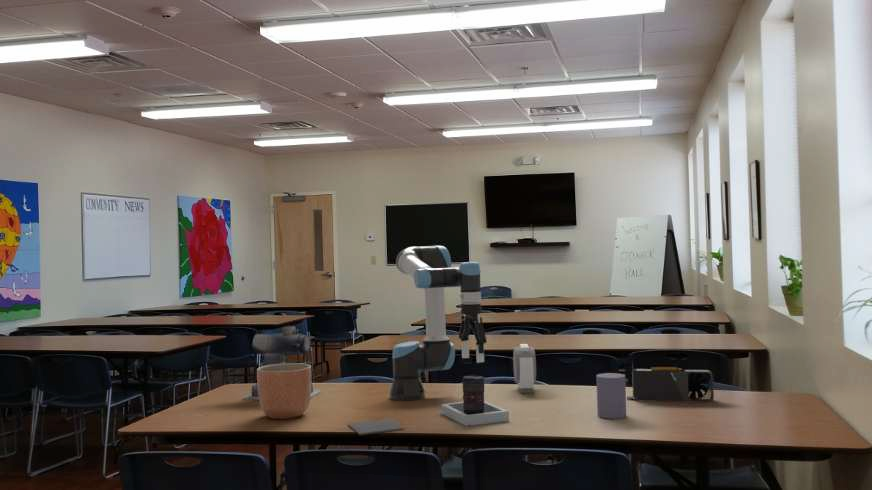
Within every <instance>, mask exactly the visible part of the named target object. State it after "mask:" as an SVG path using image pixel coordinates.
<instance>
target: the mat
mask: <svg viewBox="0 0 872 490" xmlns="http://www.w3.org/2000/svg"><path fill="white" fill-rule="evenodd" d="M347 426H348V427H349V428H350V429H352V431H354V432H356V433H357V434H358V435H359V436H363V435H371V434H377V433H378V434H379V433H380V434H381V433H387V432H394V431H403V430H404V427H403V426H401V425H400V424H398V423H396V422H395V421H394V420H392V419H391V418H386V419H379V420H378V419H377V420H369V421H368V420H367V421H360V422H351V423H347Z"/></svg>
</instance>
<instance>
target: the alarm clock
mask: <svg viewBox="0 0 872 490" xmlns="http://www.w3.org/2000/svg"><path fill="white" fill-rule="evenodd" d="M512 355H513V357H512V361H513V362H512V364H513V367H512V368H513V376H514V382H515V383H516V384H517V387H518V388H519V389H518V391H519V390H520V391H519V392H520V393H522V394H523V393H525V394H526V393H533V389H534V386H535V382H536V381H537V360H536V351H535V347H534V346H529V345H528V343H520V344H519V346H515V347H513V353H512Z"/></svg>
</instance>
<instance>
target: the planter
mask: <svg viewBox="0 0 872 490" xmlns="http://www.w3.org/2000/svg"><path fill="white" fill-rule="evenodd" d="M311 381H312V365H311V364H308V363H297V362H296V363H293V362H292V363H291V362H290V363H288V362H287V363H286V362H285V364H274V365H267V366H263V367H262V366H259V367H258V368H256V382H257V383H256V384H258V395H259V400H258V402H259V405H260V409H261V411H262V413H263V414H264V415H265V416H267V418H270V419H275V420H289V419H294V418H298V417H301V416H302V415H304V414H305V413H306V411H307V410H308V409H309V406H310V402H311V399H310V396H311Z"/></svg>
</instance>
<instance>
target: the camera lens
mask: <svg viewBox="0 0 872 490" xmlns="http://www.w3.org/2000/svg"><path fill="white" fill-rule="evenodd" d="M462 393H463V395H462V402H463V408H464V412H463V413H465V414H467V415H471V414H480V413H485V412H484V401H485V379H484V376H482V375H465V376H463V378H462Z"/></svg>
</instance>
